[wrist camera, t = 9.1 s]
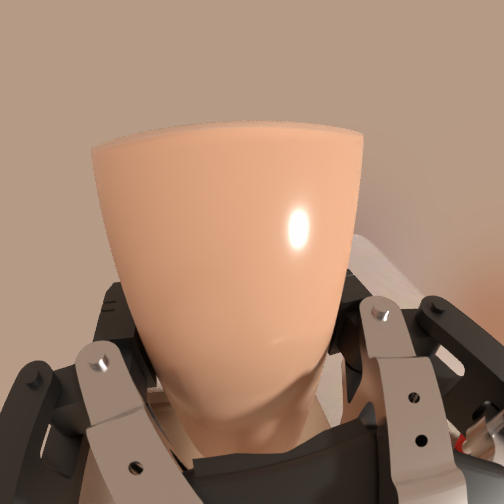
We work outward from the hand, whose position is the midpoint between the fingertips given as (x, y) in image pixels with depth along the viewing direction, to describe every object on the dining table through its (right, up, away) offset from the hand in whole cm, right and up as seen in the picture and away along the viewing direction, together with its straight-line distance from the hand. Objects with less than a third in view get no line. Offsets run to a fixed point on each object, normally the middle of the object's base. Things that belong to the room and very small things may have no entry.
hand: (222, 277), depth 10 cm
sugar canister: (+1, -7, +1) cm, 7 cm away
